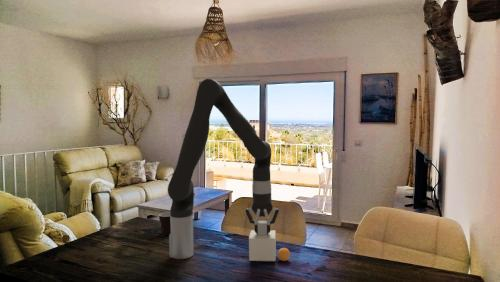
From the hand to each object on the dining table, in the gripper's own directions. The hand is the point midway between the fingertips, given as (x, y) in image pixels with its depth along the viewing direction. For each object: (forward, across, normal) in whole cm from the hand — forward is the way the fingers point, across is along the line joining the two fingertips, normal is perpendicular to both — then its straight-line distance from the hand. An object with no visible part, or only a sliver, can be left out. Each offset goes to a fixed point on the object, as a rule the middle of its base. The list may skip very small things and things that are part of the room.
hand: (262, 233), depth 136 cm
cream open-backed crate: (+9, 0, 0) cm, 9 cm away
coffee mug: (+11, -49, +31) cm, 59 cm away
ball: (+9, +8, 0) cm, 12 cm away
